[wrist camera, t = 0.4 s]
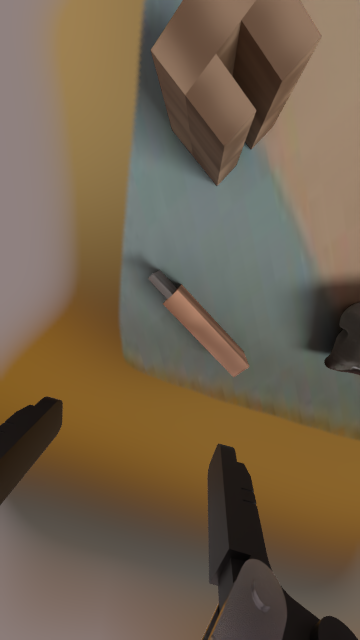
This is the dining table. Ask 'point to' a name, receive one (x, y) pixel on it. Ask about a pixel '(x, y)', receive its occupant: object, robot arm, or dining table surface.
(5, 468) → the robot arm
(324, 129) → the dining table surface
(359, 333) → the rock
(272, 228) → the dining table surface
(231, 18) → the slotted tan block
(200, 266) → the dining table surface
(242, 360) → the bed rail
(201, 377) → the dining table surface
